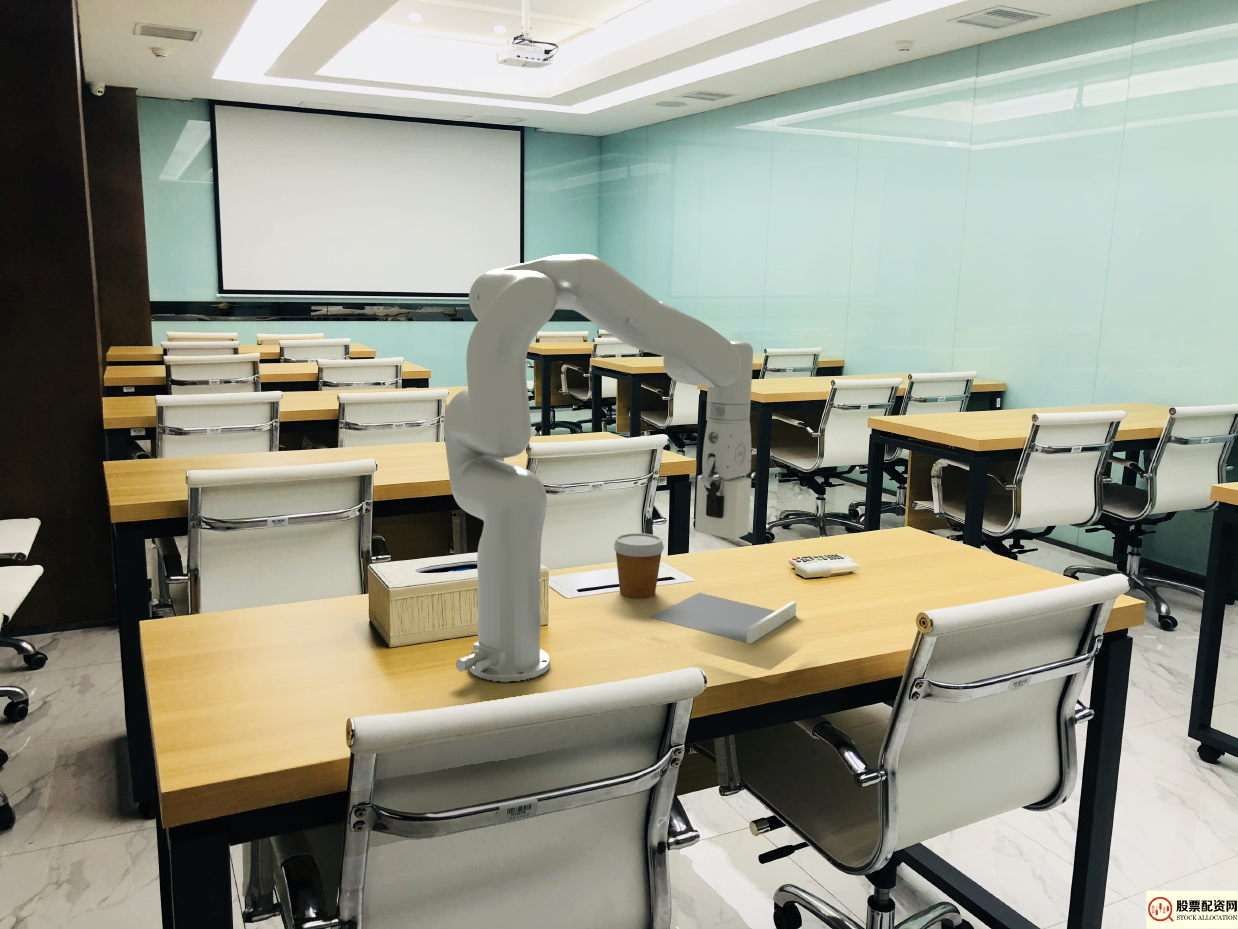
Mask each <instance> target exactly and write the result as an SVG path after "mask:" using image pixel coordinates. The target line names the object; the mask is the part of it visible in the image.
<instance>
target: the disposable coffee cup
mask: <svg viewBox="0 0 1238 929" xmlns="http://www.w3.org/2000/svg"><path fill="white" fill-rule="evenodd" d="M612 546H613V548H614V551H615V556H616V565H617V566H616V567H617V577H618V586H619V594H620V595H621V596H623V597H625V598H627V599H634V600H635V599H636V600H644V599H649V598H652V597H654V596H655V595H656V590H657V585H658V584H657V583H658V577H659V572H660V571H659V570H660V565H661V558H662V554H663V552H664V549H665V545H664V543H663V539H662V538H661V537H660V536H657V535H654V534H650V533H644V532H643V533H642V532H640V533H638V532H633V533H632V532H631V533H624V534H620V535H618V536H617V537H615V541H614V543H613V545H612Z"/></svg>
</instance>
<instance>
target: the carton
mask: <svg viewBox="0 0 1238 929" xmlns="http://www.w3.org/2000/svg"><path fill="white" fill-rule="evenodd" d="M714 477H719V475H715V476H714ZM696 479H697V482H696V500H695V501H696V502H695V522H694V524H695V526H694V532H696V533H701V534H706V535H712V536H717V537H722V538H727V539H730V540H736V539H739V538H742V537H743V536H746V535H748V534H749V529H750V528H749V523H750V510H751V509H750V508H751V492H752V491H751V490H752V489H751V487H752V478H749V477H738V478H734V479H731V480H725V481H724V487H723V492H722V496H724V511H723V518H715V517H709V516H707V515H706V500H707V494H706V493H705V490H706V489H705V487H704V484H703V482H702V481H701V475H698V476H697V478H696ZM713 482H715V483H716V485H717V487H718V482H719V481H714V480H713Z"/></svg>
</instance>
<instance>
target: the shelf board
mask: <svg viewBox="0 0 1238 929" xmlns="http://www.w3.org/2000/svg"><path fill="white" fill-rule="evenodd" d="M796 610H797V601H794V600H791V601H790V602H788V603H786V604H784V605H783V606H782V607H780V608H778V609H777V610H774V609H770V608H767V607H761V606H758V605H752V604H749V603H744V602H741V601H735V600H732V599H728V598H724V597H720V596H715V595H711V594H706V593H703V592H698V593H695V594H693V595H691V596H690V597H688V598H686V599H683V600H682V601H680V602H677V603H675V604H673V605H671V606H669V607H667V608H665V609H663V610H660V611H659V612H657V613H654V614H652V615H651V616H649V618H650V619H654V620H659V621H662V622H666V623H668V624H669V623H670V624H673V625H678V626H681V627H685V628H688V629H692V630H697V631H701V632H704V633H708V634H711V635H715V636H720V637H721V638H722V637H723V638H726V639H730V640H734V641H738V642H742V643H746V644H749V645H753V644H755V643H757V642H759V640H761V639H763V638H764V637H766V636H767V635H769V634H771V633H772V632H774V631H776V629H778V628H780V627H781V626H783V625H785V624H786V623H788V622H789V621H791V620H792V619H794V618H795V617H797V615H796V614H797V611H796Z"/></svg>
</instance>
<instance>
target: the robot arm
mask: <svg viewBox="0 0 1238 929" xmlns="http://www.w3.org/2000/svg"><path fill="white" fill-rule="evenodd" d="M468 303H469V308H470V310H471V312H472V314H473V315H474V317H475V318H476V319H477V322H476V324H475V325H474V327H473V330H472V332H471V334H470V337H469V340H468V344H467V348H466V359H465V361H466V363H465V364H466V376H467V377H466V381H467V388H466V389H463V390H461V391H459V392H458V393H456V395H454V396H453V397H452V398H451V400H450V401H449V403H448V404H447V407H446V409H445V414H444V419H443V435H444V444H445V445H444V446H445V452H446V454H445V455H446V460H447V461H446V462H447V467H448V468H447V469H448V475H449V483H450V487H451V493H452V495H453V498H454V500H455V503H456V504H457V505H458V506H459V508H461V509H462V510H463V511H465V513H467V514H469V515H471V516H474V517H476V518H477V519H480V520H482V521H483V527H482V533H481V536H480V538H479V542H478V547H477V561H476V563H477V564H476V566H477V567H476V568H477V642H474V643H473V651H471V652H470V654H469V655H465V656H462V657H460V658H459V659H457V660H456V661H455V666H456V669H457V670H458V671H459V672H462V673H463V672H465V671H467V670H469V672H470V673H471V674H472V675H473V676H475V675H476V676H475V677H477V676H478V677H477V678H479V677H480V678H479V679H482V678H484V679H483V680H485V679H487V680H486V681H490V680H492V681H491V682H497V681H500V682H499V683H510V682H509V681H517V682H521V681H520V680H524V681H527V680H526V679H528V680H530V679H529V678H532V679H535V678H538V677H540V676H541V674H542V675H544V673H546V672H547V671H549V668H550V666H551V657H550V655H549V654H548V652H546V651H545V650H543V649H541V598H542V596H541V594H542V593H541V589H542V587H541V585H542V584H541V583H542V582H541V578H542V577H541V576H542V575H541V573H542V572H541V570H542V569H541V568H542V566H541V557H542V556H541V553H542V538H543V537H542V536H543V529H544V523H545V521H546V520H545V519H546V515H547V507H548V496H547V492H546V489H545V486H544V484H543V482H542V480H540V478H539V477H538V476H537V475H536V474H535V473H533V472H532V471H531V470H529V469H527V468H525V467H523V466H520V465H517V464H514V463H510V462H509V461H508V462H507V461H505V459H509V458H513V457H514V458H515V457H516V456H517V457H518V456H519V455H521V454H522V453H523V452H524V451H525V450H526V449H527V447H528V446H529V444H530V441H531V438H532V420H531V412H530V403H529V400H530V399H529V394H528V393H529V392H528V383H527V381H528V380H527V355H528V350H529V348H530V345H531V343H532V342H533V340H534V338H535V337H536V335H537V334H538V332H539V331H540V330H541V329H542V328H543V327H544V326H545V325H546V324H548V322H549V320H551V319H552V316H554V313H555V311H556V310H567V311H569V310H571V311H572V310H573V311H575V312H577V313H579V314H581V315H582V316H583V317H584V318H587V320H590V322H592V323H594V324H595V325H597V326H598V327H600V328H601V329H603V330H604V331H605V332H607V333H609V334H610V335H611V336H613V337H614V338H616V339H617V340H618V341H620V342H621V343H624V344H625V345H627V346H629V347H631V348H635V349H637V350H640V351H643V352H648V353H651V354H654V355H659V356H663V360H662V362H663V363H662V364H663V368H664V370H665V373H666V374H667V376H668V377H670V378H671V379H672V380H673V381H675V382H677V383H681V384H686V385H693V386H699V387H707V395H706V396H707V397H706V416H705V417H706V418H705V419H706V421H707V422H706V426H705V433H704V440H703V449H702V461H701V462H702V464H701V465H702V466H701V467H702V473H701V475H700V476H701V481H702V482H703V484H704V487H705V489H706V490H705V493H706V494H707V500H706V515H707V516H709V517H715V518H723V511H724V496H722V492H723V487H724V481H725V480H731V479H734V478H738V477H744V478H746V477H745V476H746V475H748V474H749V473H750V472H751V470H752V431H751V422H750V418H751V417H750V416H751V401H752V400H751V399H752V381H753V380H752V379H753V363H754V362H753V361H754V349H753V346H752V344H751V343H749V342H747V341H740V340H739V341H737V340H728V339H727V338H726V337H724V336H723V335H722V334H721V333H719V332H718V331H717V330H715V329H714V328H712V327H711V326H709V325H707V324H706V323H704V322H702V321H700V320H698V319H697V318H695V317H693V316H691V315H689V314H686V313H684V312H682V311H680V310H678V308H677V309H676V308H675V307H673V306H671V305H669V304H667V303H665V302H662V301H660V300H657V298H654V297H653V296H652V295H650V294H649V293H648V292H646V291H645V290H643V289H642V288H641V287H639V286H637V285H636V283H634V282H633V281H631V280H630V279H629V278H627V277H626V276H625V275H623V274H622V273H621V272H619V271H618V270H616V269H615V268H614V267H613V266H611V265H610V264H608V263H607V262H605V261H604V260H603V259H601V258H600V257H597V256H595V255H591V254H587V253H578V254H577V253H576V254H575V253H573V254H571V253H569V254H555V255H550V256H546V257H543V258H539V259H538V258H537V259H535V260H531V261H527V262H524V263H523V262H522V263H518V264H515V265H514V264H513V265H510V266H506V267H502V268H496V269H492V270H489V271H487V272H484V273H483V274H480V275H479V276H478V277H477V278H476V279H475V280H474V282H473V283H472V285H471V287H470V291H469V293H468ZM715 475H719V477H714V476H715ZM713 480H714V481H719V482H718V487H717V485H716V483H715V482H713ZM539 675H540V676H539ZM537 676H538V677H537ZM534 677H535V678H534Z"/></svg>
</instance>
